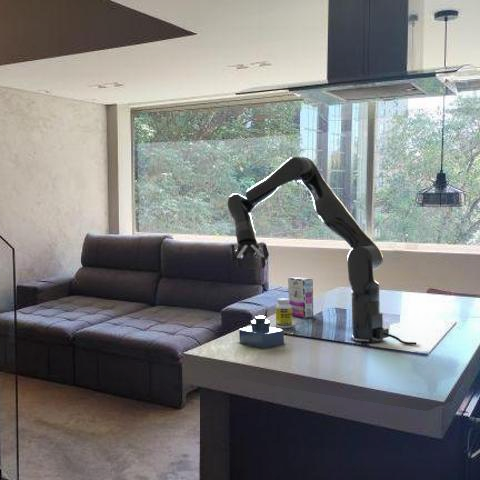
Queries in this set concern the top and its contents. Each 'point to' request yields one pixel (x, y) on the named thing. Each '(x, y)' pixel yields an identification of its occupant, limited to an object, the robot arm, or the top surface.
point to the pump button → (260, 319)
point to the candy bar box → (301, 296)
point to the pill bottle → (283, 313)
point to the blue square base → (261, 335)
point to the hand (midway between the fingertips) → (252, 267)
